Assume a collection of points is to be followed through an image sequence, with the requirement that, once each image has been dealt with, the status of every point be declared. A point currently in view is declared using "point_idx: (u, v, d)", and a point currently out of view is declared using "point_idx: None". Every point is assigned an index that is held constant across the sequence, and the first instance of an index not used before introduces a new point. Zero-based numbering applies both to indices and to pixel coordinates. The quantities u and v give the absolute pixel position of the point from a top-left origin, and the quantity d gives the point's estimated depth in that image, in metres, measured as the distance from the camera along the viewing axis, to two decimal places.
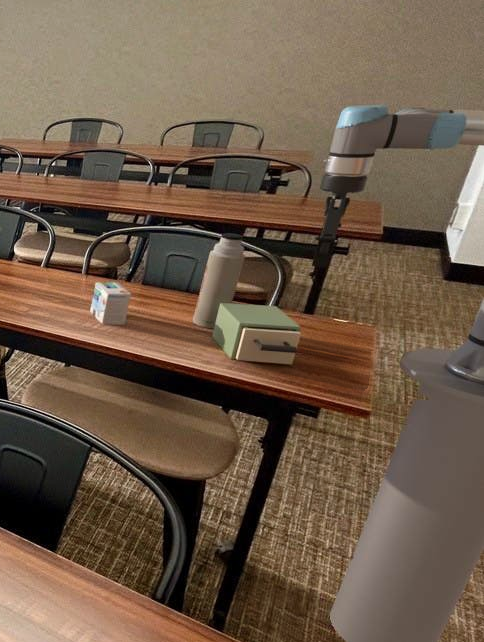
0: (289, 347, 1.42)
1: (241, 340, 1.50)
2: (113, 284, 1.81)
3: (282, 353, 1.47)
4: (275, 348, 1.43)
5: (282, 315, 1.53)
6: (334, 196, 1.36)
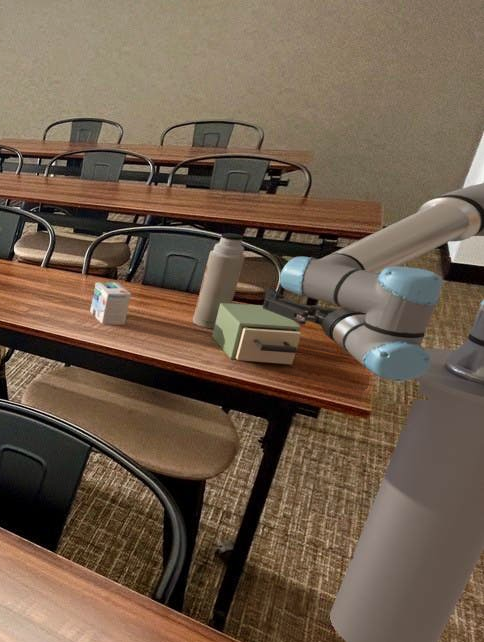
0: (289, 347, 1.42)
1: (241, 340, 1.50)
2: (113, 284, 1.81)
3: (282, 353, 1.47)
4: (275, 348, 1.43)
5: None
6: None
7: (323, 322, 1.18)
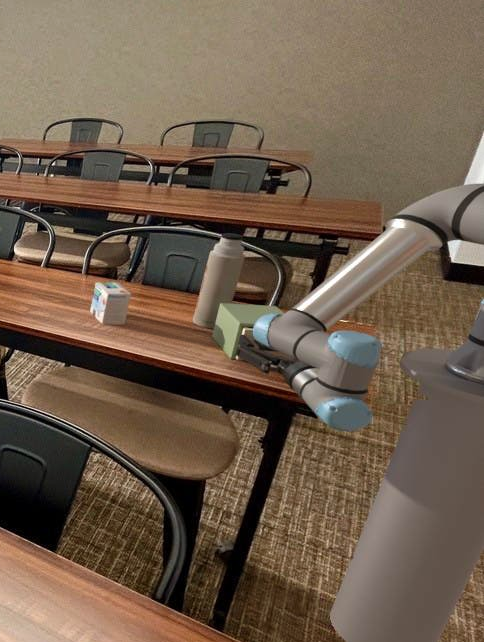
0: None
1: None
2: (113, 284, 1.81)
3: (282, 353, 1.47)
4: None
5: None
6: None
7: (284, 372, 1.33)
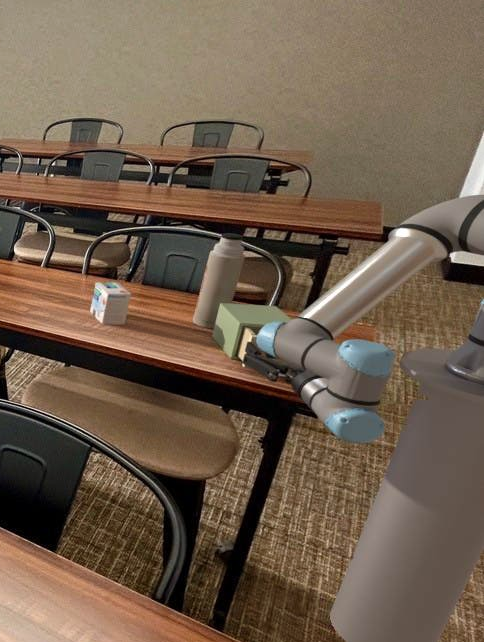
0: None
1: None
2: (114, 284, 1.81)
3: None
4: None
5: (282, 315, 1.53)
6: None
7: (293, 382, 1.29)
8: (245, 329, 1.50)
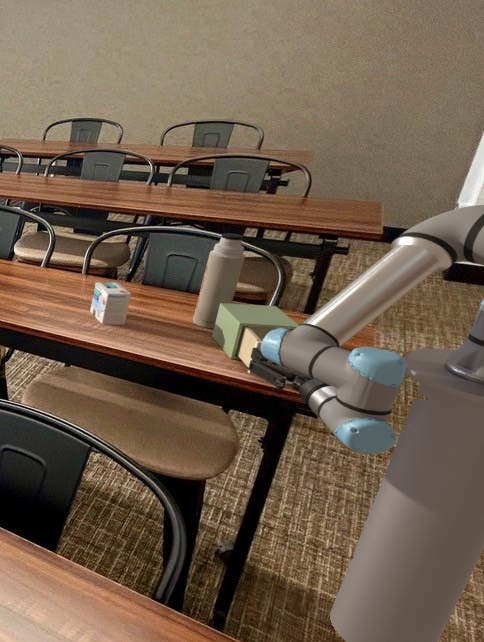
0: None
1: None
2: (113, 284, 1.81)
3: None
4: None
5: (282, 315, 1.53)
6: None
7: (300, 389, 1.26)
8: (250, 335, 1.47)
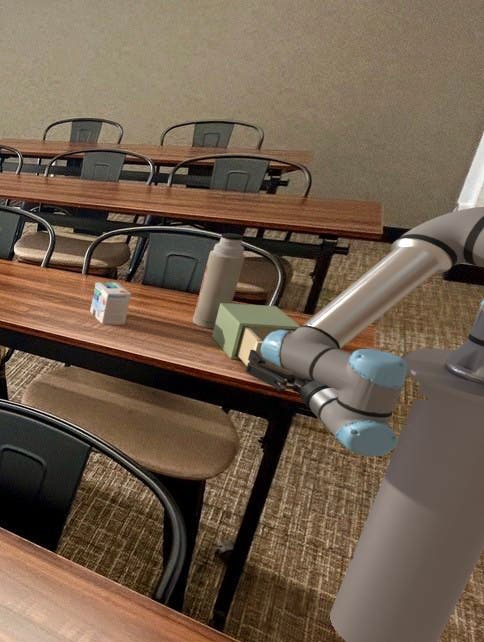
0: None
1: None
2: (114, 284, 1.81)
3: None
4: None
5: (282, 315, 1.53)
6: None
7: (301, 391, 1.25)
8: (251, 335, 1.47)
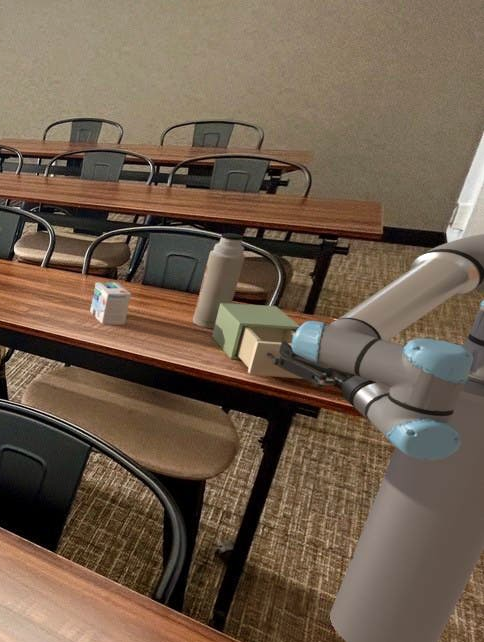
0: None
1: (253, 353, 1.43)
2: (113, 284, 1.81)
3: None
4: None
5: (282, 315, 1.53)
6: None
7: (343, 387, 1.13)
8: (251, 335, 1.47)
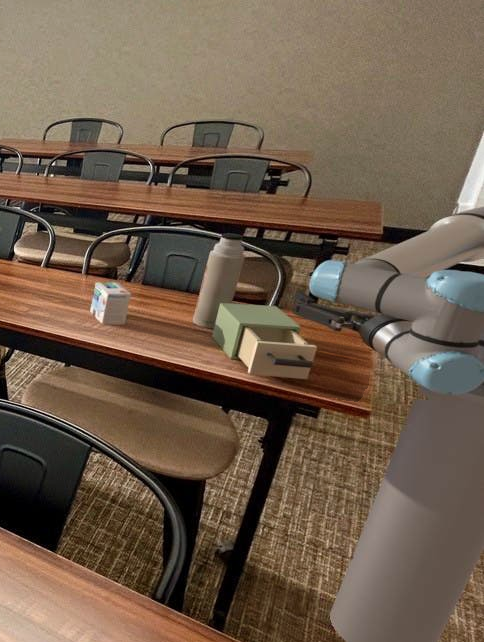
0: (305, 361, 1.36)
1: (253, 353, 1.43)
2: (113, 284, 1.81)
3: (297, 367, 1.40)
4: (290, 362, 1.36)
5: (282, 315, 1.53)
6: None
7: (361, 329, 1.10)
8: (251, 335, 1.47)
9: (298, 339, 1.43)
